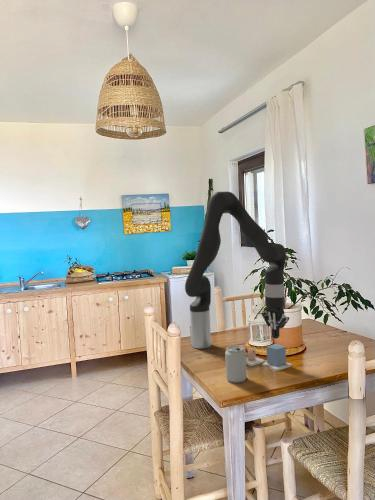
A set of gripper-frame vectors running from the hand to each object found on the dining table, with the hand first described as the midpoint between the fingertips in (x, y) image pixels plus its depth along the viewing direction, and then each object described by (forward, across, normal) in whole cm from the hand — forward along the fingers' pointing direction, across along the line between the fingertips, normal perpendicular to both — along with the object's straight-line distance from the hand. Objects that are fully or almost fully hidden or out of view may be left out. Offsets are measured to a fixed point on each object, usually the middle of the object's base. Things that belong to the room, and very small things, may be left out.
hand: (275, 337), depth 155 cm
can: (+12, 0, -21) cm, 24 cm away
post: (+11, 0, 0) cm, 11 cm away
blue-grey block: (+10, 0, 0) cm, 10 cm away
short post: (+11, -10, -4) cm, 15 cm away
